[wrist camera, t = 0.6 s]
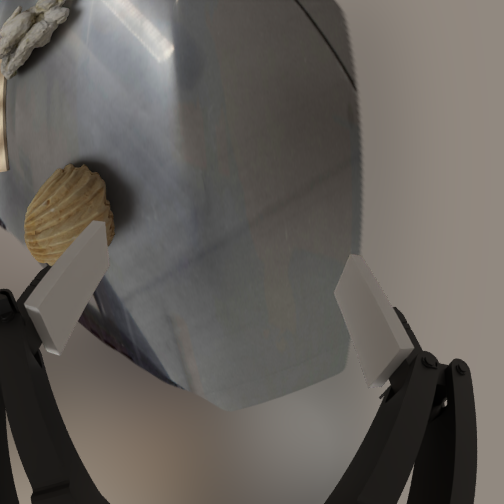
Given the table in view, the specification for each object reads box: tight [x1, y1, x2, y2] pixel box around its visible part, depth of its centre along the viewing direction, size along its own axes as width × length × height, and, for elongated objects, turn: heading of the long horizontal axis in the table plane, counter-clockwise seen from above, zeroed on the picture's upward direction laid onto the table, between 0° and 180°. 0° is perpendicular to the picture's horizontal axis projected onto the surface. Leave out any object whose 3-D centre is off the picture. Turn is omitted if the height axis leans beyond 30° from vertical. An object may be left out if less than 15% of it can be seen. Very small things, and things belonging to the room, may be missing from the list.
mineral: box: [0, 0, 69, 79], centre depth 18 cm, size 12×17×10 cm
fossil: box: [24, 163, 115, 266], centre depth 33 cm, size 15×17×15 cm
